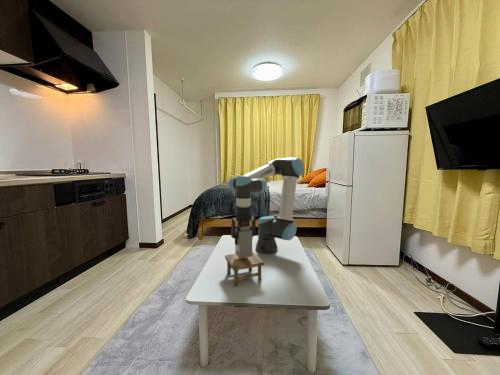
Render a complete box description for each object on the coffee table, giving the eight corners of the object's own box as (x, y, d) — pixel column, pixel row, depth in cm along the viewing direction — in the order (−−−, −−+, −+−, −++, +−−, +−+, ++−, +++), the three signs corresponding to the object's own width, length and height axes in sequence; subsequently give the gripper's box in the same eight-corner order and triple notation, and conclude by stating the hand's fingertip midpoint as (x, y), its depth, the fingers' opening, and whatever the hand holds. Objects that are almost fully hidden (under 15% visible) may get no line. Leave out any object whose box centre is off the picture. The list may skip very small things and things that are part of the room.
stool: (252, 267, 126) (252, 251, 125) (264, 281, 112) (264, 262, 111) (225, 272, 120) (224, 255, 120) (234, 287, 106) (233, 267, 105)
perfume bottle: (235, 253, 117) (235, 220, 115) (247, 251, 119) (247, 219, 117) (239, 258, 110) (239, 223, 109) (252, 256, 113) (252, 222, 111)
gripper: (257, 203, 119) (256, 245, 121) (224, 205, 112) (224, 249, 115) (263, 205, 112) (262, 249, 114) (228, 208, 105) (228, 255, 108)
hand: (243, 249), depth 115 cm, fingers closed on perfume bottle, 5 cm apart
